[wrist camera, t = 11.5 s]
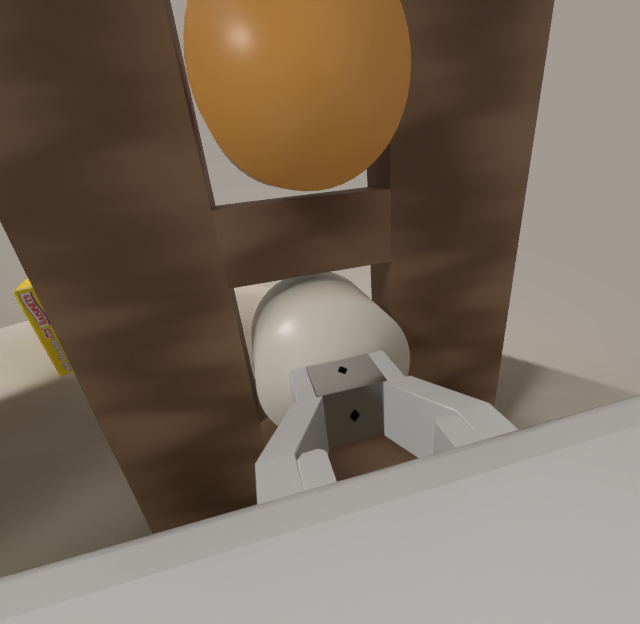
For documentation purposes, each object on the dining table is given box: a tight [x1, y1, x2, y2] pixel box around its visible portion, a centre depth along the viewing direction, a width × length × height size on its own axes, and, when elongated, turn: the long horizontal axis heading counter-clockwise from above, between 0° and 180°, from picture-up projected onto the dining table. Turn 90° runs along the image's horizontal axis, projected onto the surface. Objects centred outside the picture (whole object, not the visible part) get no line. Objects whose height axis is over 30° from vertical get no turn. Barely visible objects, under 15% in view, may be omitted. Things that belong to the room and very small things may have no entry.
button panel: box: [0, 0, 554, 534], centre depth 13 cm, size 16×8×30 cm, turn 104°
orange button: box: [183, 0, 411, 191], centre depth 9 cm, size 5×4×5 cm
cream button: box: [252, 272, 410, 426], centre depth 12 cm, size 5×4×5 cm
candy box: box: [13, 278, 74, 376], centre depth 33 cm, size 16×2×8 cm, turn 30°
